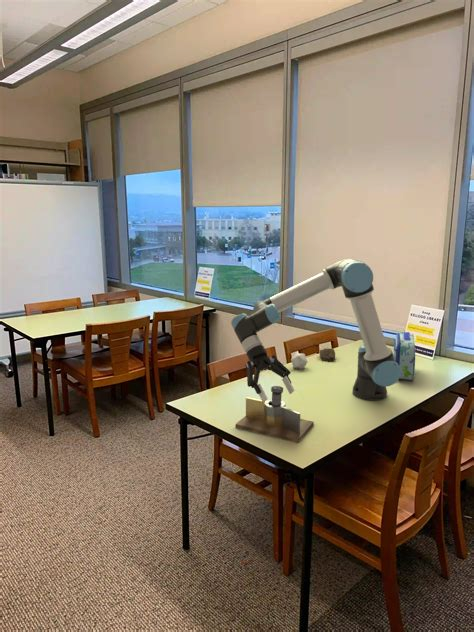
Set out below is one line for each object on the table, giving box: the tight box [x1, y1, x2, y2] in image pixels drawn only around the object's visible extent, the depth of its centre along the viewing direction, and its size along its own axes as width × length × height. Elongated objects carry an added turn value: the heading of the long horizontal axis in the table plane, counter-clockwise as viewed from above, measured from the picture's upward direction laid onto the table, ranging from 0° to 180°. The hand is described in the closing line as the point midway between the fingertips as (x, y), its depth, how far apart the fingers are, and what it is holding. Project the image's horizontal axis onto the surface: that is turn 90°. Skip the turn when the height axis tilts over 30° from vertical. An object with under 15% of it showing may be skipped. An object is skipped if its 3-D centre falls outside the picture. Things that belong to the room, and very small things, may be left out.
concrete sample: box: [318, 348, 336, 362], centre depth 256 cm, size 12×10×5 cm
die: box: [290, 352, 308, 370], centre depth 240 cm, size 8×9×10 cm
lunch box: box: [392, 331, 416, 381], centre depth 227 cm, size 26×11×21 cm, turn 161°
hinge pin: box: [270, 385, 284, 406], centre depth 171 cm, size 5×5×14 cm
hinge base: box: [235, 415, 315, 444], centre depth 173 cm, size 26×16×2 cm, turn 61°
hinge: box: [245, 396, 301, 434], centre depth 171 cm, size 24×8×8 cm, turn 61°
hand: (279, 396), depth 168 cm, fingers open, 13 cm apart
